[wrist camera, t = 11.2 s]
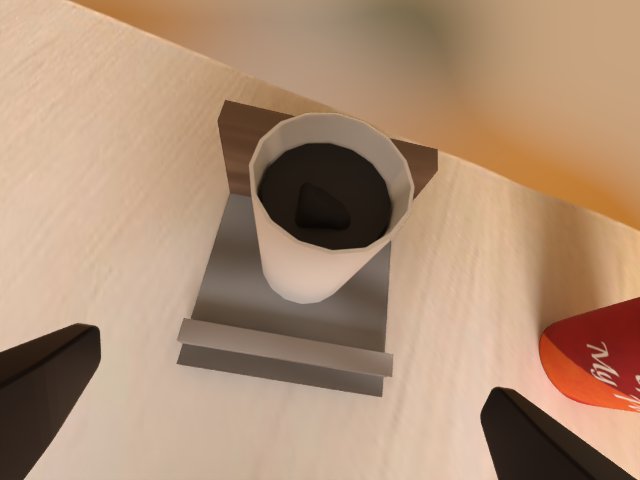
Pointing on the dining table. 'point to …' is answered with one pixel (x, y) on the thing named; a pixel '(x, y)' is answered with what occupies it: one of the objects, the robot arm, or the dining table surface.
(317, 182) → the white cup
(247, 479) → the dining table surface
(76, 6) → the dining table surface
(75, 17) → the dining table surface
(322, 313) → the holder
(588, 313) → the paper cup
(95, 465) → the dining table surface
